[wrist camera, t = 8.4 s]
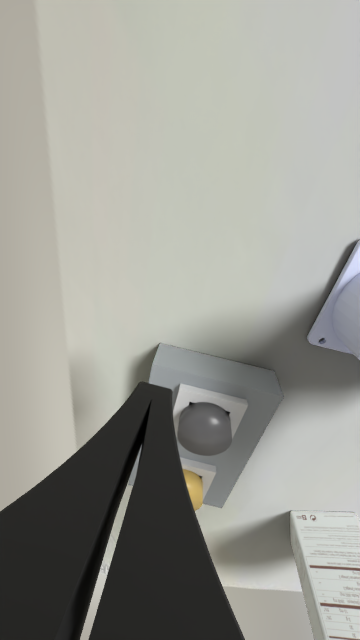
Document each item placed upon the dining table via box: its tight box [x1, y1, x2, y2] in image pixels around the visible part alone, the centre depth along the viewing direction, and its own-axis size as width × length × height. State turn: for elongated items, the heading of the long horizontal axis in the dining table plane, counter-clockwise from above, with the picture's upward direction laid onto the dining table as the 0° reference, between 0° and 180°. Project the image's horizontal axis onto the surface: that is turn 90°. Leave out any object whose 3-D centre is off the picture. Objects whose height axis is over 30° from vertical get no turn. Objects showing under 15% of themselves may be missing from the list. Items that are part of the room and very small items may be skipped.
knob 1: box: [183, 469, 203, 511], centre depth 23 cm, size 4×4×5 cm
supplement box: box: [290, 511, 360, 640], centre depth 24 cm, size 7×7×13 cm
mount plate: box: [128, 343, 284, 508], centre depth 22 cm, size 10×16×4 cm, turn 168°
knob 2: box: [177, 402, 232, 456], centre depth 20 cm, size 4×4×5 cm
